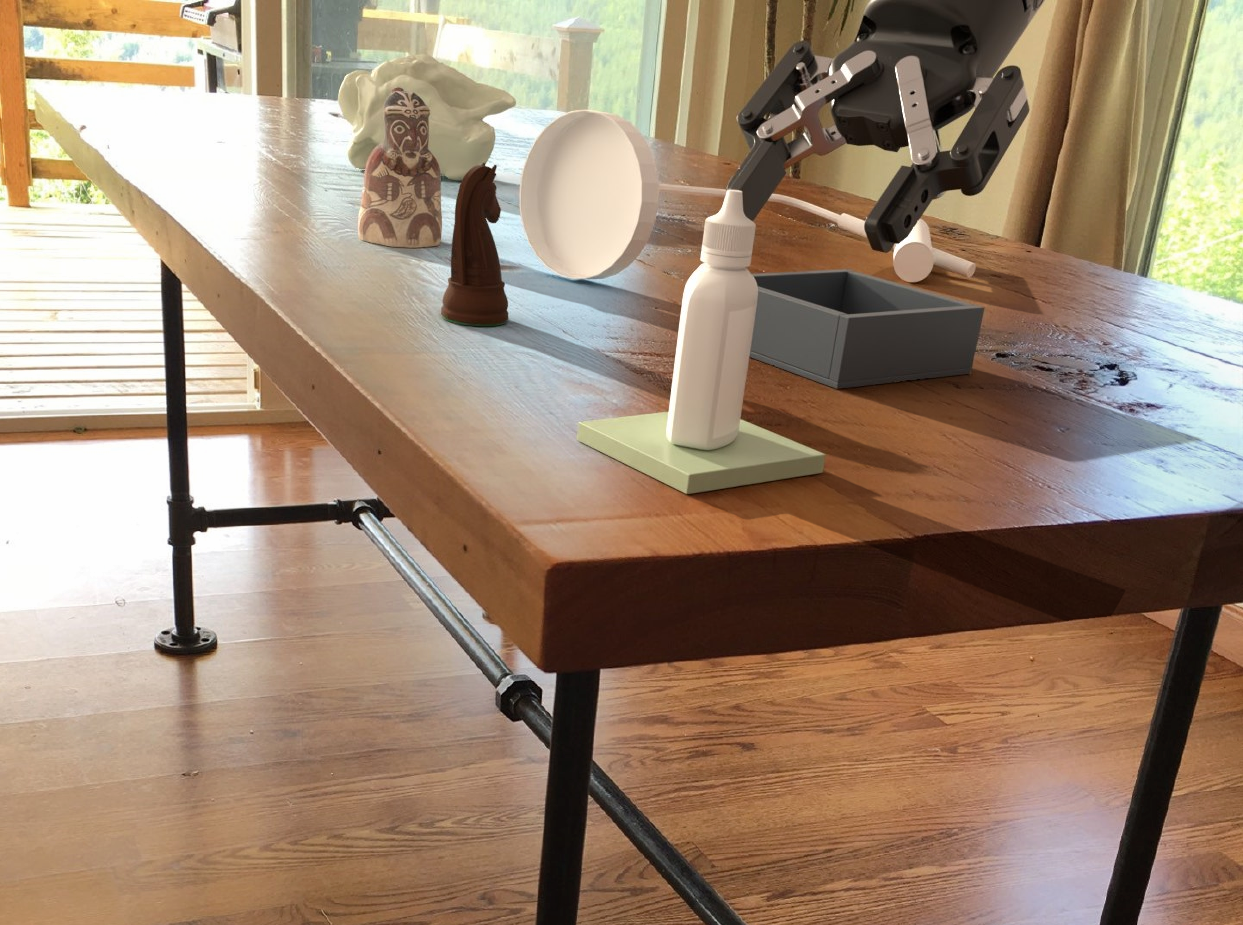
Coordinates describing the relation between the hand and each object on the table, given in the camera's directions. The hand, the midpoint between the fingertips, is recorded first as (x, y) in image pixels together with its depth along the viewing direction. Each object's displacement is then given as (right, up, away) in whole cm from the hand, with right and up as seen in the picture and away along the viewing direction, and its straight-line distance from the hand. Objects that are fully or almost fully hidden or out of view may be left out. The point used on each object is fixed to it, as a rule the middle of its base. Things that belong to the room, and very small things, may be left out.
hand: (803, 225), depth 72 cm
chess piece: (-18, +2, +25) cm, 31 cm away
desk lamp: (+7, +13, +53) cm, 55 cm away
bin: (+6, -1, +24) cm, 25 cm away
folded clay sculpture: (-28, +35, +90) cm, 100 cm away
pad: (-5, -12, +1) cm, 13 cm away
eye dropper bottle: (-5, -11, +1) cm, 12 cm away
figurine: (-26, +15, +51) cm, 59 cm away
